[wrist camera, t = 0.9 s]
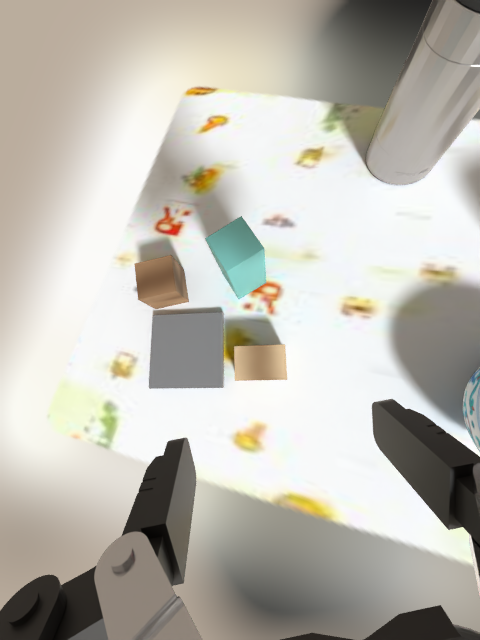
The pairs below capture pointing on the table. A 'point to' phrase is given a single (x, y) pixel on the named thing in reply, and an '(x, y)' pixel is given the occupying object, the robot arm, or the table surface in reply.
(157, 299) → the walnut cube
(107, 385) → the table surface
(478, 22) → the robot arm
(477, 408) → the chinaware
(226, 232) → the teal block
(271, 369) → the oak block
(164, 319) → the coaster
